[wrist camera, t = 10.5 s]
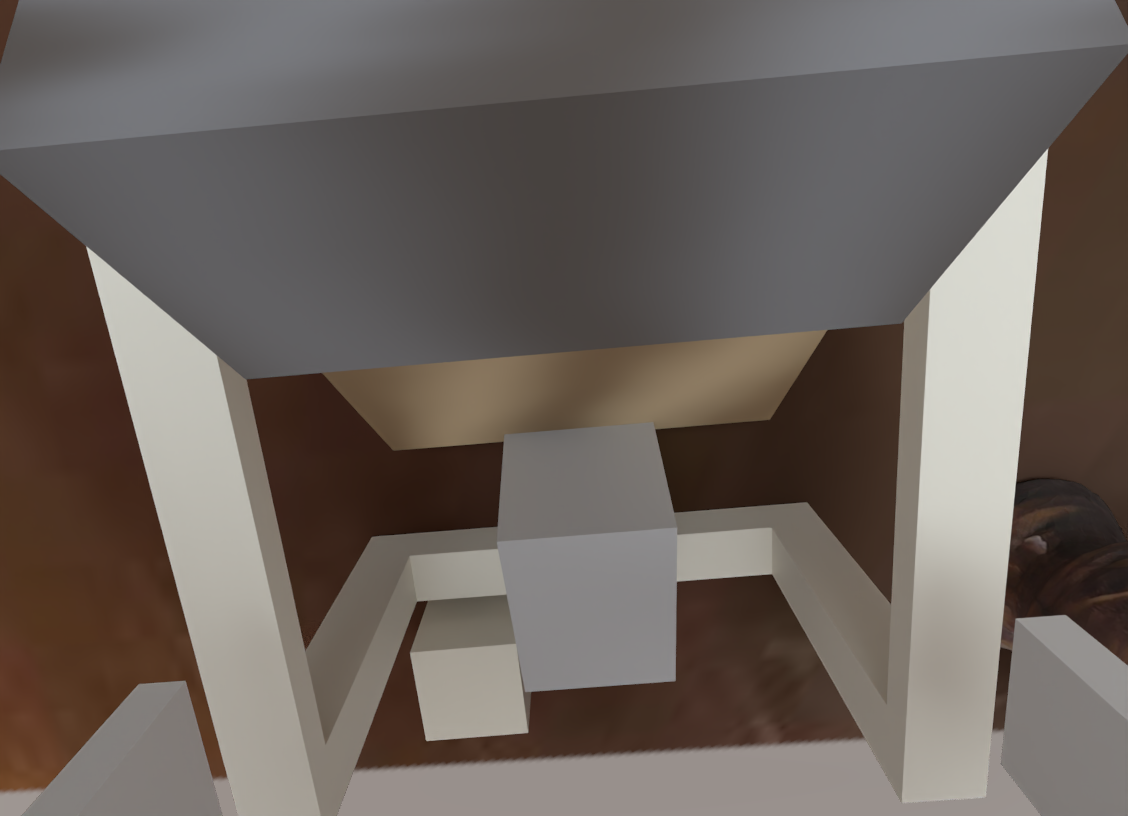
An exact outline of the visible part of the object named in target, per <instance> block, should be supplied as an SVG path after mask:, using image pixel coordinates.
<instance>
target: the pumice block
mask: <svg viewBox="0 0 1128 816" xmlns="http://www.w3.org/2000/svg"><path fill="white" fill-rule="evenodd" d="M410 655H411V661H412V666H413V672H414V677H415V683H416V688H417V694H418V699H419V704H420V710H421V715H422V721H423V726H424V732H425V737H426V741H434V740H446V739H459V738H471V737H483V736H496V735H508V734H521V733H528V729H529V715H530V701H531V692H525V688H524V683H523V678H522V672H521V667H520V662H519V657H518V651H517V646H516V641H515V636H514V630H513V625H512V620H511V615H510V609H509V604H508V599H507V595H494V596H481V597H468V598H455V599H442V600H429V601H428V603H427V605H426V608H425V611H424V614H423V617H422V620H421V623H420V625H419V628H418V631H417V634H416V637H415V640H414V643H413V645H412V648H411V651H410Z"/></svg>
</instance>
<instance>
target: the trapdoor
mask: <svg viewBox="0 0 1128 816" xmlns="http://www.w3.org/2000/svg"><path fill="white" fill-rule="evenodd" d="M1127 53H1128V26H1127V24H1126V22H1125V20H1124V18H1123V16H1122V14H1121V12H1120V10H1119V8H1118V6H1117V4H1116V2H1115V0H19V3H18V6H17V9H16V13H15V16H14V20H13V23H12V26H11V30H10V33H9V37H8V40H7V43H6V47H5V50H4V54H3V57H2V61H1V64H0V174H1V175H2V176H3V177H4V178H6V179H7V180H8V181H9V182H10V183H12V184H13V185H14V186H15V187H16V188H18V189H19V190H20V191H21V192H22V193H23V194H25V195H26V196H27V197H28V198H29V199H31V200H32V201H33V202H34V203H35V204H37V205H38V206H39V207H40V208H41V209H43V210H44V211H45V212H46V213H47V214H49V215H50V216H51V217H52V218H53V219H55V220H56V221H57V222H58V223H59V224H61V225H62V226H63V227H64V228H65V229H66V230H68V231H69V232H70V233H71V234H72V235H74V236H75V237H76V238H77V239H78V240H80V241H81V242H82V243H83V244H84V245H86V246H87V247H88V248H89V249H90V250H92V251H93V252H94V253H95V254H96V255H98V256H99V257H100V258H101V259H102V260H104V261H105V262H106V263H107V264H108V265H109V266H111V267H112V268H113V269H114V270H115V271H117V272H118V273H119V274H120V275H121V276H123V277H124V278H125V279H126V280H127V281H129V282H130V283H131V284H132V285H133V286H135V287H136V288H137V289H138V290H139V291H141V292H142V293H143V294H144V295H145V296H147V297H148V298H149V299H150V300H151V301H152V302H154V303H155V304H156V305H157V306H158V307H160V308H161V309H162V310H163V311H164V312H166V313H167V314H168V315H169V316H170V317H172V318H173V319H174V320H175V321H176V322H178V323H179V324H180V325H181V326H182V327H184V328H185V329H186V330H187V331H188V332H189V333H191V334H192V335H193V336H194V337H195V338H197V339H198V340H199V341H200V342H201V343H203V344H204V345H205V346H206V347H207V348H209V349H210V350H211V351H212V352H213V353H215V354H216V355H217V356H218V357H219V358H221V359H222V360H223V361H224V362H225V363H227V364H228V365H229V366H230V367H231V368H232V369H234V370H235V371H236V372H237V373H238V374H240V375H241V376H242V377H243V378H244V379H255V378H267V377H279V376H290V375H302V374H314V373H322V374H323V375H324V376H325V377H326V378H327V379H328V380H329V381H330V382H331V383H332V385H333V386H334V387H335V388H336V389H337V390H338V391H339V392H340V393H341V394H342V395H343V396H344V398H345V399H346V400H347V401H348V402H349V403H350V404H351V405H352V406H353V407H354V408H355V410H356V411H357V412H358V413H359V414H360V415H361V416H362V417H363V418H364V419H365V420H366V421H367V423H368V424H369V425H370V426H371V427H372V428H373V429H374V430H375V431H376V432H377V433H378V435H379V436H380V437H381V438H382V439H383V440H384V441H385V442H386V443H387V444H388V445H389V446H390V448H391V449H392V450H393V451H397V450H409V449H421V448H433V447H445V446H457V445H469V444H482V443H494V442H504V434H516V433H528V432H540V431H552V430H564V429H576V428H588V427H601V426H613V425H625V424H637V423H649V422H653V423H654V427H655V429H664V428H676V427H688V426H701V425H713V424H725V423H737V422H749V421H761V420H770V419H771V417H772V416H773V414H774V412H775V411H776V409H777V408H778V406H779V405H780V403H781V402H782V400H783V398H784V397H785V395H786V394H787V392H788V391H789V389H790V387H791V386H792V384H793V383H794V381H795V380H796V378H797V377H798V375H799V373H800V372H801V370H802V369H803V367H804V366H805V364H806V362H807V361H808V359H809V358H810V356H811V355H812V353H813V352H814V350H815V348H816V347H817V345H818V344H819V342H820V341H821V339H822V338H823V336H824V334H825V333H826V331H827V330H831V329H842V328H854V327H866V326H878V325H889V324H901V323H902V322H903V321H904V320H905V319H906V317H907V316H908V315H909V314H910V313H911V311H912V310H913V309H914V308H915V307H916V305H917V304H918V303H919V302H920V301H921V299H922V298H923V297H924V296H925V295H926V294H927V292H928V291H929V290H930V289H931V288H932V286H933V285H934V284H935V283H936V282H937V280H938V279H939V278H940V277H941V276H942V274H943V273H944V272H945V271H946V270H947V268H948V267H949V266H950V265H951V264H952V262H953V261H954V260H955V259H956V258H957V256H958V255H959V254H960V253H961V252H962V251H963V249H964V248H965V247H966V246H967V245H968V243H969V242H970V241H971V240H972V239H973V237H974V236H975V235H976V234H977V233H978V231H979V230H980V229H981V228H982V227H983V225H984V224H985V223H986V222H987V221H988V219H989V218H990V217H991V216H992V215H993V213H994V212H995V211H996V210H997V209H998V208H999V206H1000V205H1001V204H1002V203H1003V202H1004V200H1005V199H1006V198H1007V197H1008V196H1009V194H1010V193H1011V192H1012V191H1013V190H1014V188H1015V187H1016V186H1017V185H1018V184H1019V182H1020V181H1021V180H1022V179H1023V178H1024V176H1025V175H1026V174H1027V173H1028V172H1029V170H1030V169H1031V168H1032V167H1033V166H1034V164H1035V163H1036V162H1037V161H1038V160H1039V159H1040V157H1041V156H1042V155H1043V154H1044V153H1045V151H1046V150H1047V149H1048V148H1049V147H1050V145H1051V144H1052V143H1053V142H1054V141H1055V139H1056V138H1057V137H1058V136H1059V135H1060V133H1061V132H1062V131H1063V130H1064V129H1065V127H1066V126H1067V125H1068V124H1069V123H1070V121H1071V120H1072V119H1073V118H1074V117H1075V116H1076V114H1077V113H1078V112H1079V111H1080V110H1081V108H1082V107H1083V106H1084V105H1085V104H1086V102H1087V101H1088V100H1089V99H1090V98H1091V96H1092V95H1093V94H1094V93H1095V92H1096V90H1097V89H1098V88H1099V87H1100V86H1101V84H1102V83H1103V82H1104V81H1105V80H1106V78H1107V77H1108V76H1109V75H1110V74H1111V73H1112V71H1113V70H1114V69H1115V68H1116V67H1117V65H1118V64H1119V63H1120V62H1121V61H1122V59H1123V58H1124V57H1125V56H1126V55H1127Z"/></svg>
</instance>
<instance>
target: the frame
mask: <svg viewBox="0 0 1128 816" xmlns="http://www.w3.org/2000/svg"><path fill="white" fill-rule="evenodd" d="M1047 154H1048V149H1047V150H1046V151H1045V153H1044V154H1043V155H1042V156H1041V157H1040V159H1039V160H1038V161H1037V162H1036V163H1035V164H1034V166H1033V167H1032V168H1031V169H1030V170H1029V172H1028V173H1027V174H1026V175H1025V176H1024V178H1023V179H1022V180H1021V181H1020V182H1019V184H1018V185H1017V186H1016V187H1015V188H1014V190H1013V191H1012V192H1011V193H1010V194H1009V196H1008V197H1007V198H1006V199H1005V200H1004V202H1003V203H1002V204H1001V205H1000V206H999V208H998V209H997V210H996V211H995V212H994V213H993V215H992V216H991V217H990V218H989V219H988V221H987V222H986V223H985V224H984V225H983V227H982V228H981V229H980V230H979V231H978V233H977V234H976V235H975V236H974V237H973V239H972V240H971V241H970V242H969V243H968V245H967V246H966V247H965V248H964V249H963V251H962V252H961V253H960V254H959V255H958V256H957V258H956V259H955V260H954V261H953V262H952V264H951V265H950V266H949V267H948V268H947V270H946V271H945V272H944V273H943V274H942V276H941V277H940V278H939V279H938V280H937V282H936V283H935V284H934V285H933V286H932V288H931V289H930V290H929V291H928V292H927V294H926V295H925V296H924V297H923V298H922V299H921V301H920V302H919V303H918V304H917V305H916V307H915V308H914V309H913V310H912V311H911V313H910V314H909V315H908V316H907V317H906V319H905V320H904V341H903V362H902V384H901V406H900V427H899V449H898V471H897V492H896V514H895V536H894V557H893V579H892V600H891V604H890V603H889V602H888V600H887V599H886V598H885V597H884V595H883V594H882V593H881V592H880V591H879V589H878V588H877V587H876V586H875V584H874V583H873V582H872V581H871V580H870V578H869V577H868V576H867V575H866V574H865V572H864V571H863V570H862V569H861V567H860V566H859V565H858V564H857V563H856V561H855V560H854V559H853V558H852V556H851V555H850V554H849V553H848V552H847V550H846V549H845V548H844V547H843V546H842V544H841V543H840V542H839V541H838V539H837V538H836V537H835V536H834V535H833V533H832V532H831V531H830V530H829V528H828V527H827V526H826V525H825V524H824V522H823V521H822V520H821V519H820V518H819V516H818V515H817V514H816V513H815V511H814V510H813V509H812V508H811V507H810V505H809V504H808V503H807V502H804V503H791V504H778V505H766V506H753V507H741V508H728V509H715V510H703V511H690V512H678V513H674V515H675V520H676V524H677V581H689V580H702V579H715V578H728V577H741V576H754V575H767V574H772V575H773V577H774V578H775V580H776V582H777V584H778V585H779V587H780V589H781V591H782V593H783V594H784V596H785V598H786V600H787V601H788V603H789V605H790V607H791V608H792V610H793V612H794V614H795V616H796V617H797V619H798V621H799V623H800V624H801V626H802V628H803V630H804V631H805V633H806V635H807V637H808V639H809V640H810V642H811V644H812V646H813V647H814V649H815V651H816V653H817V654H818V656H819V658H820V660H821V661H822V663H823V665H824V667H825V669H826V670H827V672H828V674H829V676H830V677H831V679H832V681H833V683H834V684H835V686H836V688H837V690H838V692H839V693H840V695H841V697H842V699H843V700H844V702H845V704H846V706H847V707H848V709H849V711H850V713H851V715H852V716H853V718H854V720H855V722H856V723H857V725H858V727H859V729H860V730H861V732H862V734H863V736H864V737H865V739H866V741H867V743H868V744H869V746H870V748H871V750H872V752H873V753H874V755H875V757H876V759H877V760H878V762H879V764H880V765H881V768H882V769H883V771H884V773H885V775H886V776H887V778H888V780H889V782H890V783H891V785H892V787H893V789H894V791H895V792H896V794H897V796H898V797H899V799H900V801H901V803H911V802H927V801H942V800H956V799H970V798H985V797H986V789H987V778H988V768H989V758H990V747H991V737H992V727H993V716H994V706H995V696H996V685H997V675H998V664H999V654H1000V643H1001V633H1002V623H1003V612H1004V602H1005V591H1006V581H1007V570H1008V560H1009V550H1010V539H1011V529H1012V518H1013V508H1014V497H1015V487H1016V477H1017V466H1018V456H1019V445H1020V435H1021V425H1022V414H1023V404H1024V393H1025V383H1026V372H1027V362H1028V352H1029V341H1030V331H1031V320H1032V310H1033V299H1034V289H1035V279H1036V268H1037V258H1038V247H1039V237H1040V227H1041V216H1042V206H1043V195H1044V185H1045V174H1046V164H1047ZM86 247H87V246H86ZM87 251H88V255H89V259H90V262H91V266H92V270H93V274H94V277H95V281H96V285H97V289H98V293H99V296H100V300H101V304H102V308H103V311H104V315H105V319H106V323H107V326H108V330H109V334H110V338H111V341H112V345H113V349H114V353H115V356H116V360H117V364H118V368H119V371H120V375H121V379H122V383H123V386H124V390H125V394H126V398H127V401H128V405H129V409H130V413H131V416H132V420H133V424H134V428H135V431H136V435H137V439H138V443H139V446H140V450H141V454H142V458H143V461H144V465H145V469H146V473H147V476H148V480H149V484H150V488H151V491H152V495H153V499H154V503H155V507H156V510H157V514H158V518H159V522H160V525H161V529H162V533H163V537H164V540H165V544H166V548H167V552H168V555H169V559H170V563H171V567H172V570H173V574H174V578H175V582H176V585H177V589H178V593H179V597H180V600H181V604H182V608H183V612H184V615H185V619H186V623H187V627H188V630H189V634H190V638H191V642H192V645H193V649H194V653H195V657H196V660H197V664H198V668H199V672H200V675H201V679H202V683H203V687H204V690H205V694H206V698H207V702H208V706H209V709H210V713H211V717H212V721H213V724H214V728H215V732H216V736H217V739H218V743H219V747H220V751H221V754H222V758H223V762H224V766H225V769H226V773H227V777H228V781H229V784H230V788H231V791H232V796H233V799H234V803H235V807H236V811H237V814H238V816H337V814H338V812H339V809H340V806H341V803H342V801H343V798H344V796H345V793H346V790H347V788H348V785H349V782H350V779H351V777H352V774H353V771H354V769H355V766H356V763H357V761H358V758H359V755H360V753H361V750H362V747H363V745H364V742H365V739H366V737H367V734H368V731H369V729H370V726H371V723H372V721H373V718H374V715H375V713H376V710H377V707H378V704H379V702H380V699H381V696H382V694H383V691H384V688H385V686H386V683H387V680H388V678H389V675H390V672H391V670H392V667H393V664H394V662H395V659H396V656H397V654H398V651H399V648H400V646H401V643H402V640H403V638H404V635H405V632H406V630H407V627H408V624H409V621H410V619H411V616H412V613H413V611H414V608H415V605H416V603H417V601H429V600H442V599H455V598H468V597H481V596H494V595H507V594H506V588H505V583H504V578H503V573H502V567H501V562H500V557H499V552H498V546H497V530H498V527H489V528H476V529H463V530H451V531H438V532H425V533H413V534H400V535H388V536H375V537H372V538H371V539H370V541H369V543H368V545H367V546H366V548H365V550H364V551H363V553H362V555H361V557H360V558H359V560H358V562H357V563H356V565H355V567H354V569H353V570H352V572H351V574H350V575H349V577H348V579H347V581H346V582H345V584H344V586H343V587H342V589H341V591H340V593H339V594H338V596H337V598H336V600H335V601H334V603H333V605H332V606H331V608H330V610H329V612H328V613H327V615H326V617H325V618H324V620H323V622H322V624H321V625H320V627H319V629H318V630H317V632H316V634H315V636H314V637H313V639H312V641H311V642H310V644H309V646H308V648H307V649H306V651H305V648H304V644H303V639H302V634H301V630H300V625H299V621H298V616H297V611H296V607H295V602H294V597H293V593H292V588H291V584H290V579H289V574H288V570H287V565H286V560H285V556H284V551H283V547H282V542H281V537H280V533H279V528H278V523H277V519H276V514H275V510H274V505H273V500H272V496H271V491H270V486H269V482H268V477H267V473H266V468H265V463H264V459H263V454H262V450H261V445H260V440H259V436H258V431H257V426H256V422H255V417H254V413H253V408H252V403H251V399H250V394H249V389H248V385H247V380H246V379H244V378H243V377H242V376H241V375H240V374H238V373H237V372H236V371H235V370H234V369H232V368H231V367H230V366H229V365H228V364H227V363H225V362H224V361H223V360H222V359H221V358H219V357H218V356H217V355H216V354H215V353H213V352H212V351H211V350H210V349H209V348H207V347H206V346H205V345H204V344H203V343H201V342H200V341H199V340H198V339H197V338H195V337H194V336H193V335H192V334H191V333H189V332H188V331H187V330H186V329H185V328H184V327H182V326H181V325H180V324H179V323H178V322H176V321H175V320H174V319H173V318H172V317H170V316H169V315H168V314H167V313H166V312H164V311H163V310H162V309H161V308H160V307H158V306H157V305H156V304H155V303H154V302H152V301H151V300H150V299H149V298H148V297H147V296H145V295H144V294H143V293H142V292H141V291H139V290H138V289H137V288H136V287H135V286H133V285H132V284H131V283H130V282H129V281H127V280H126V279H125V278H124V277H123V276H121V275H120V274H119V273H118V272H117V271H115V270H114V269H113V268H112V267H111V266H109V265H108V264H107V263H106V262H105V261H104V260H102V259H101V258H100V257H99V256H98V255H96V254H95V253H94V252H93V251H92V250H90V249H89V248H88V247H87Z"/></svg>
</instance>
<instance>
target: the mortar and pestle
mask: <svg viewBox="0 0 1128 816" xmlns="http://www.w3.org/2000/svg"><path fill="white" fill-rule="evenodd" d="M1057 615H1066V616H1067V617H1069V618H1070V619H1071V620H1072V621H1074V622H1075V623H1076V624H1077V625H1079V626H1080V627H1081V628H1082V629H1083V630H1085V631H1086V632H1087V633H1088V634H1090V635H1091V636H1092V637H1093V638H1094V639H1096V640H1097V641H1098V642H1099V643H1101V644H1102V645H1103V646H1104V647H1106V648H1107V649H1108V650H1109V651H1110V652H1112V653H1113V654H1114V655H1115V656H1117V657H1118V658H1119V659H1120V660H1122V661H1123V662H1124V663H1125V664H1126V665H1128V541H1126V539H1125V537H1124V536H1123V532H1122V529H1121V528H1120V527H1119V525H1118V523H1117V521H1116V520H1115V518H1114V516H1113V514H1112V512H1111V510H1110V509H1109V508H1108V506H1107V505H1106V504H1105V502H1104V501H1103V500H1102V499H1100V497H1099V496H1098V495H1097V494H1094V493H1092V492H1091V491H1090V490H1088V489H1087V488H1086V487H1084V486H1083V485H1081V484H1079V483H1076V482H1068V481H1064V480H1060V479H1037V480H1032V481H1027V482H1022V483H1017V484H1016V487H1015V497H1014V508H1013V518H1012V529H1011V539H1010V550H1009V560H1008V570H1007V581H1006V591H1005V602H1004V612H1003V623H1002V633H1001V643H1000V647H1002V648H1005V649H1009V650H1012V649H1013V639H1014V629H1015V619H1017V618H1030V617H1044V616H1057Z"/></svg>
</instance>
